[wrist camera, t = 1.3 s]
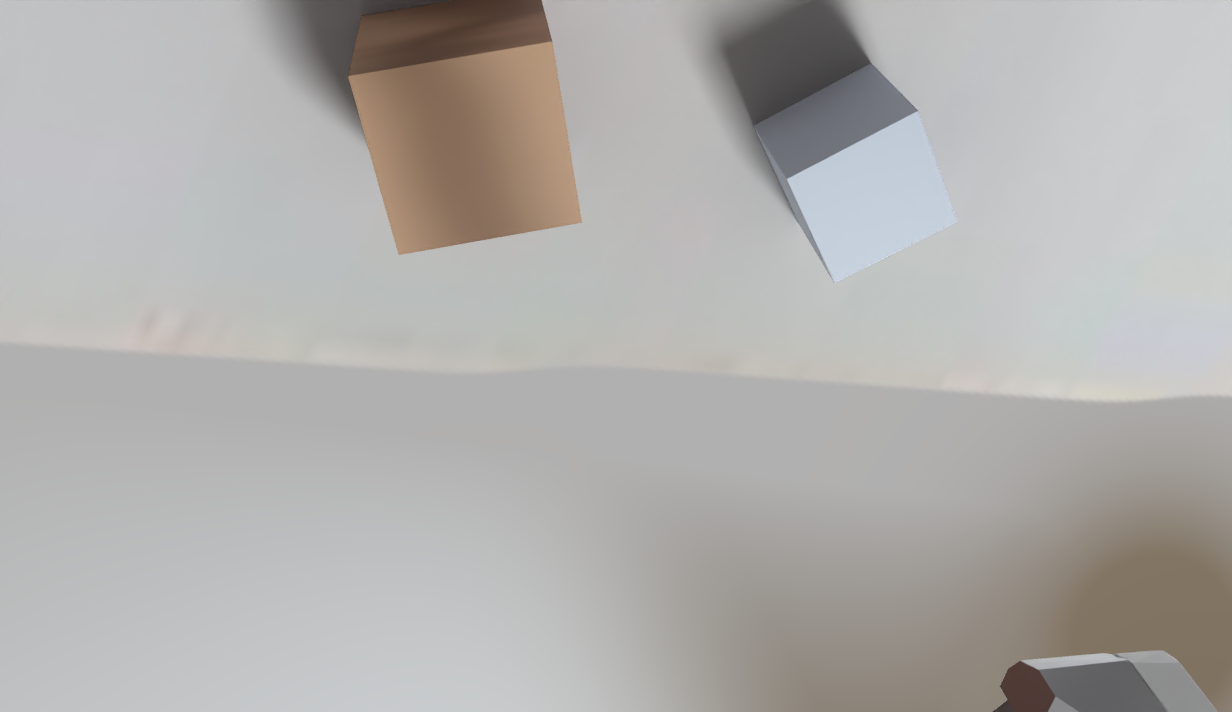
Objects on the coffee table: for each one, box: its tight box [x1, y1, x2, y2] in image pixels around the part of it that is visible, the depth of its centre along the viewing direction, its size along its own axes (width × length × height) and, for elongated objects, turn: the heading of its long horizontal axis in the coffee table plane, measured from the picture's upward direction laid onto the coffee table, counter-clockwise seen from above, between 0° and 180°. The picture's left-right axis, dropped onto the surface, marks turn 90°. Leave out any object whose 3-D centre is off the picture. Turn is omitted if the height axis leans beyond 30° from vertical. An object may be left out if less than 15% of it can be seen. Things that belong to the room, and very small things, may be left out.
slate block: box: [754, 63, 957, 283], centre depth 32 cm, size 4×4×4 cm
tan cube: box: [348, 0, 582, 255], centre depth 29 cm, size 5×5×5 cm
